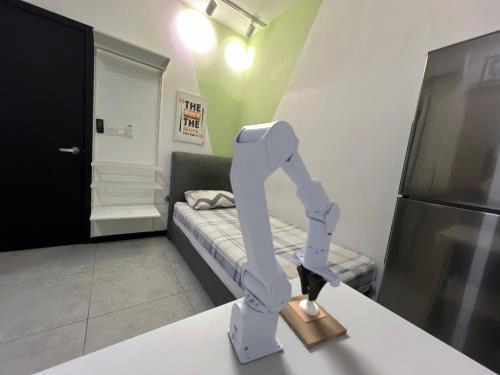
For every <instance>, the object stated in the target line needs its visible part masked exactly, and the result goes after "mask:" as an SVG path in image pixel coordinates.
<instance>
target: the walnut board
mask: <svg viewBox="0 0 500 375" xmlns="http://www.w3.org/2000/svg"><path fill="white" fill-rule="evenodd" d="M307 298H308V294H306V295H303V294H301V295H296V296H291V298H290V300H289V302H288V304H287V305H286V307H285V308H284V309H282V310H281V311H279V316H280V317H282V319H283V321H285V323H286V324H287V325H288V326H289V328H290V329H291V330H292V331H293V333H295V335H296V336H297V337H298V340H300V341H301V342H302V344H303V345H304V347H305V348H306V349H311V348H313V347H315V346H318V345H321V344H324V343H325V342H329V341H331V340H333V339H336V338H339V337H341V336H345V335H346V334H348V333H347V332H348V329H347V328H346V327H345V326H344V325H342V323H340V322H339V321H338V320H337V319H335V318H334V316H333V315H332V314H330V313H329V312H328V311H327V310H326V309H325V308H323V306H322V305H320V304H319V303H318V302H317V300H315V301H313V302H314V303H315V304H316V305H317V306H318V308H319V313H318V314H317V315H309V314H306V313H304V312H303V311H302V310H301V309H300V307H299V304H300V302H301V301H302V300H307Z"/></svg>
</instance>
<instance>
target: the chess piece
mask: <svg viewBox="0 0 500 375" xmlns="http://www.w3.org/2000/svg"><path fill="white" fill-rule="evenodd" d="M314 273H315V272H314ZM314 273H311V274H314ZM308 289H309V286H308ZM299 307H300V309H301V310H302V311H303V312H304V313H306V314H309V315H317V314H318V313H319V308H318V306H317V305H316V304H315V303H314V302H313V301H311V302H310V301H309V300H308V298H307V300H302V301H301V302H300V304H299Z"/></svg>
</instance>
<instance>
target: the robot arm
mask: <svg viewBox="0 0 500 375" xmlns="http://www.w3.org/2000/svg"><path fill="white" fill-rule="evenodd" d="M231 142H232V147H233V151H234V152H233V156H232V162H231V166H230V172H229V180H230V186H231V190H232V195H233V199H234V205H235V209H236V212H237V213H236V214H237V218H238V223H239V227H240V228H239V229H240V232H241V236H242V240H243V241H242V242H243V245H244V251H245V255H246V258H245V259H243V261H242V262H241V267H242V271H241V275H240V281H241V284H242V286H243V287H245V288H244V294H245V296H244V297H243V298H242V299H240V300H239V301H237V302H234V303H233V304H232V307H231V311H230V312H231V314H230V319H229V320H230V321H229V328H227V333H228V336H229V338H230V340H231V342H232V346H233V347H234V351H235V353H236V354H237V357H238V359H239V360H238V361H239V362H240V363H241V364H246V363H249V362H252V361H254V360H257V359H260V358H263V357H266V356H268V355H271V354H274V353H278V352H280V351H282V350H284V345H283V344H282V342H281V341H280V340H279V338H278V336H277V328H278V322H279V316H280V314H279V311H281V310H282V309H284V308H285V307H286V305H287V304H288V302H289V300H290V298H291V297H292V293H293V290H292V289H293V287H292V284H291V282H290V281H289V280H288V278H287V273H286V271H285V269H284V268H283V267H282V265H281V263H279V261H278V260H277V257H276V254H275V246H274V240H273V235H272V234H273V233H272V227H271V221H270V215H269V209H268V202H267V198H266V191H265V181H266V180H267V178H268V177H270V176H271V175H273V174H274V173H275V172H276V171H277V170H278V169H279V168H281V169H282V171H283V172H284V173H285V174H286V176H288V178H289V180H291V182H293V184H294V185H295V186H296V188H295V195H296V197H298V199H299V200H300V202H301V204H303V206H304V209H305V213H304V214H305V216H306V218H308V219H309V221H308V225H307V226H308V227H307V233H306V240H305V245H304V246H305V247H304V249H303V250H304V251H300V250H293V253H292V258H293V259H294V260H297V261H298V262H300V265H297V266H296V271H297V273H298V274H297V275H298V277H299V282H300V288H301V295H306V294H308V300H309V301H310V302H311V301H317V299H318V297H319V294H320V292H321V291H322V289H323V288H324V287H325V285H326V284H328V283H329V285H330V287H332V288H337V287H340V285H341V279H342V278H341V277H340V276H338V275H337V274H336V273H335V272H334V271H333V270H332V269H331V268H330V266H329V263H328V258H329V253H330V248H331V243H332V242H331V241H332V236H333V233H334V232H335V230H336V227H337V224H338V222H339V221H340V219H341V218H340V217H341V214H342V213H341V207H340V205H338V203H337V202H335V201H332V200H331V199H330V196H329V195H328V193H327V192H326V191H325V189H324V187H323V185H322V182H321V179H320V180H319V179H317V178H315V177H314V178H313V177H311V175H310V173H309V171H308V169H307V167H306V165H305V162H304V161H303V159H302V156H301V155H300V153H299V151H298V150H299V144H300V143H299V142H300V139H299V137H298V136H297V135H296V133H295V129H294V128H293V126H292V125H291V124H290V122H287V121H286V120H276V121H274V122H269V123H262V124H255V125H252V124H251V125H250V124H249V125H246V126H243V127H242V128H241V129H240V130H239V131H238V133H237V134H236V135H235V137H234V138H233V140H232V141H231ZM314 272H315V273H314ZM311 273H314V274H311ZM308 286H309V289H308Z"/></svg>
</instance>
